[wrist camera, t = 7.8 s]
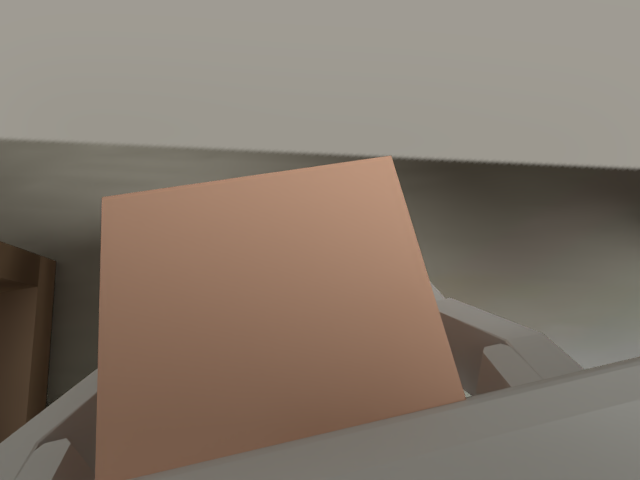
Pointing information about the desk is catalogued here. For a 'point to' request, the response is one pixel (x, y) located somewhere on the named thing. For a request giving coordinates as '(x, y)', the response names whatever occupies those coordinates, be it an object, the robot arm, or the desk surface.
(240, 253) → the block
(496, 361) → the robot arm
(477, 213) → the desk surface
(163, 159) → the desk surface
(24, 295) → the cradle
